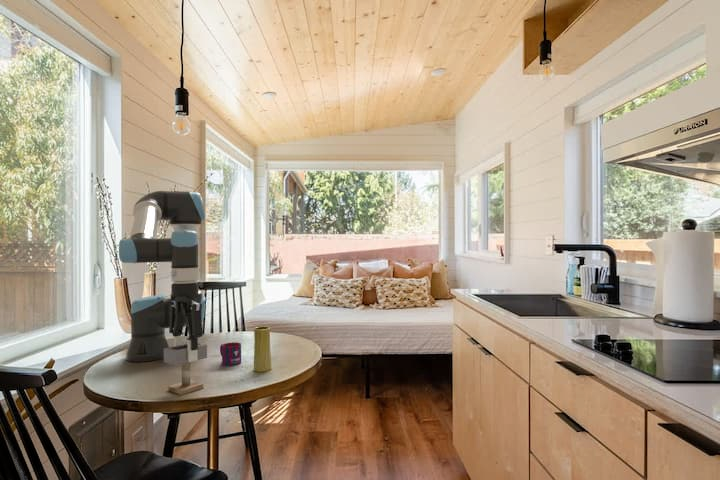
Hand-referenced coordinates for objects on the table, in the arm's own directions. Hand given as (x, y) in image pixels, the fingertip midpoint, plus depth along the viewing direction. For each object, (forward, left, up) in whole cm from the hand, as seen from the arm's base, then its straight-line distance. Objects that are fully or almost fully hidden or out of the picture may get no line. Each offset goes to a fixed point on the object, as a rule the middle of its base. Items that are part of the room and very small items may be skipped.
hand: (185, 359), depth 124 cm
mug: (-13, +25, -9) cm, 30 cm away
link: (0, 0, 0) cm, 0 cm away
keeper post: (0, 0, -9) cm, 9 cm away
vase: (+4, +26, -9) cm, 28 cm away
